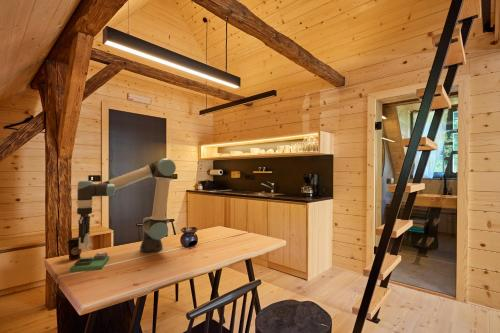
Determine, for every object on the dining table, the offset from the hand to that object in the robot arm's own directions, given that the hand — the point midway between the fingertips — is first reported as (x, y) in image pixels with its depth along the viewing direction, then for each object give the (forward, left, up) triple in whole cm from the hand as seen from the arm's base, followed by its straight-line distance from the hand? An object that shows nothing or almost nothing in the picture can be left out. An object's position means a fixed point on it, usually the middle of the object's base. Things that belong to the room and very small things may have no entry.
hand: (83, 247), depth 156 cm
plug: (0, 0, 0) cm, 0 cm away
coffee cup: (+10, -17, -12) cm, 23 cm away
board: (-3, -2, -11) cm, 12 cm away
